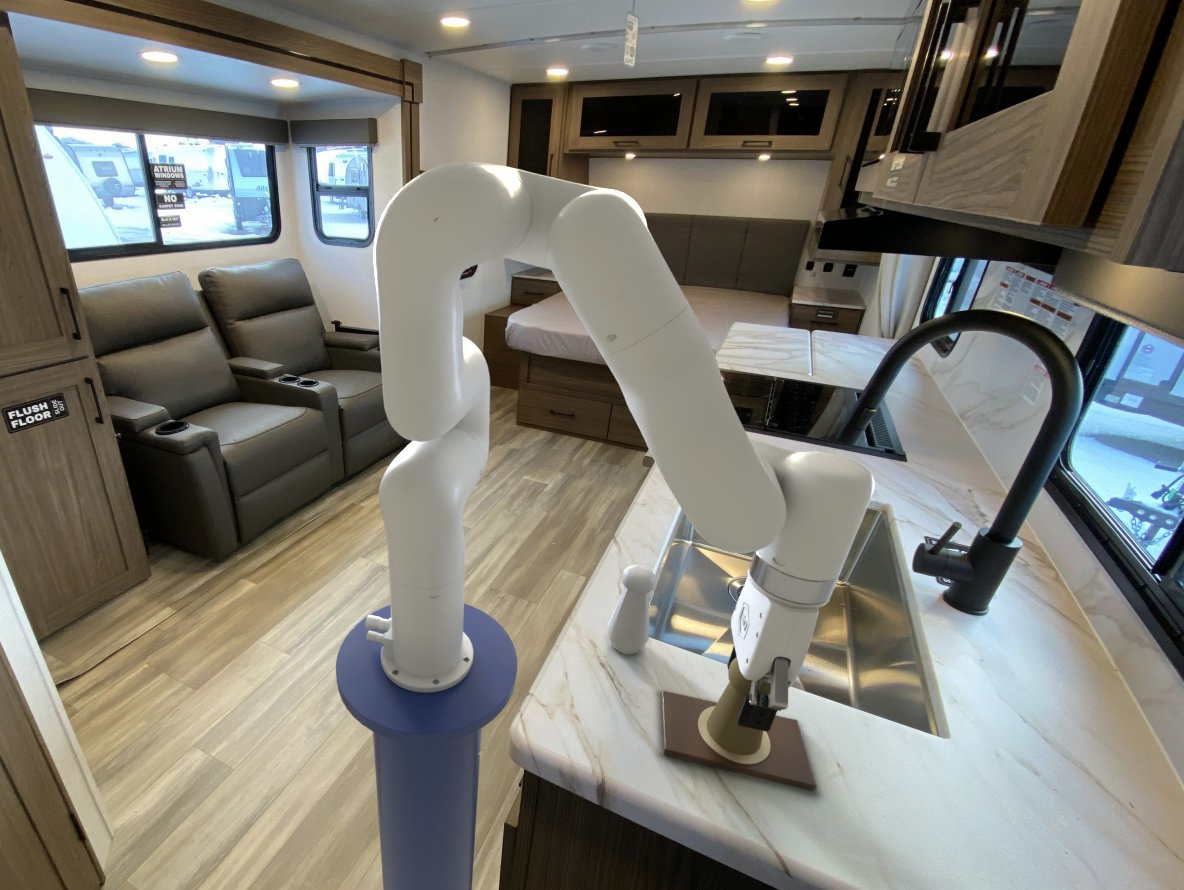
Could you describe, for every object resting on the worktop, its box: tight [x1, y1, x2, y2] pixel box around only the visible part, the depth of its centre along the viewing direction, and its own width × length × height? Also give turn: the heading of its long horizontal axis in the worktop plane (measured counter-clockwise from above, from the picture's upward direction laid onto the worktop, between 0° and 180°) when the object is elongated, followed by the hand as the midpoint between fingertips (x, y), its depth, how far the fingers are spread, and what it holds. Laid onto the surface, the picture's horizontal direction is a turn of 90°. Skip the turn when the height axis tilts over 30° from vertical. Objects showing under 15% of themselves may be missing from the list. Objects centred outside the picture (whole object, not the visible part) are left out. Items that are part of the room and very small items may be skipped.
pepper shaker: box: [707, 657, 771, 755], centre depth 66 cm, size 6×6×11 cm
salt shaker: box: [606, 564, 657, 655], centre depth 79 cm, size 6×6×13 cm
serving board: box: [660, 690, 818, 792], centre depth 68 cm, size 16×9×1 cm, turn 75°
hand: (746, 696), depth 65 cm, fingers open, 7 cm apart
